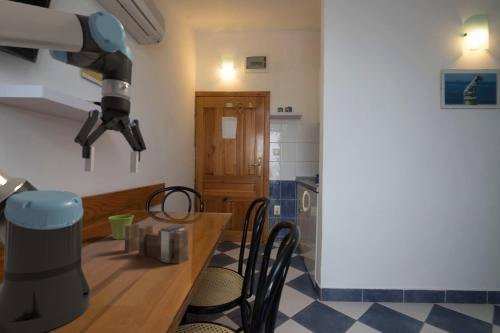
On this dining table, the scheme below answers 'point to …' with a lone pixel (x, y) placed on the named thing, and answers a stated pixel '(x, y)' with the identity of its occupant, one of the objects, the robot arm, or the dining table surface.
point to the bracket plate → (169, 241)
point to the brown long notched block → (154, 242)
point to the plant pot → (120, 225)
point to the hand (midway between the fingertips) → (113, 172)
